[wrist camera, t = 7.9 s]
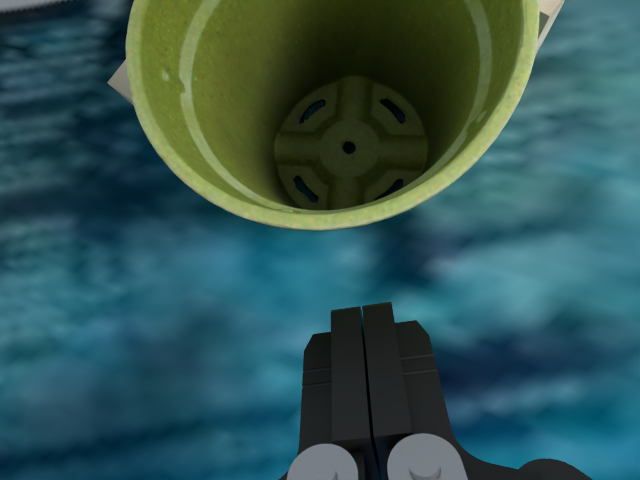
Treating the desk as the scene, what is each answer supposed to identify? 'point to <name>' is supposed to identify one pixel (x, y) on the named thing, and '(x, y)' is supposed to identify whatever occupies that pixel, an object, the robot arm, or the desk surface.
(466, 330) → the desk surface
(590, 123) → the desk surface
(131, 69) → the plant pot
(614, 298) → the desk surface
